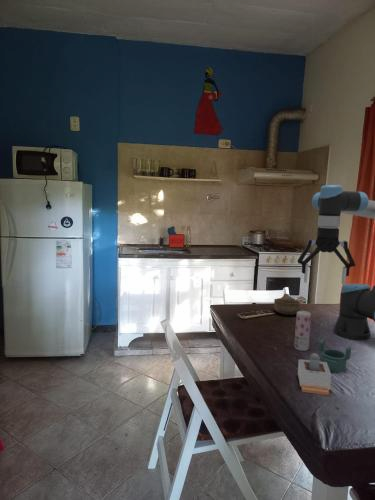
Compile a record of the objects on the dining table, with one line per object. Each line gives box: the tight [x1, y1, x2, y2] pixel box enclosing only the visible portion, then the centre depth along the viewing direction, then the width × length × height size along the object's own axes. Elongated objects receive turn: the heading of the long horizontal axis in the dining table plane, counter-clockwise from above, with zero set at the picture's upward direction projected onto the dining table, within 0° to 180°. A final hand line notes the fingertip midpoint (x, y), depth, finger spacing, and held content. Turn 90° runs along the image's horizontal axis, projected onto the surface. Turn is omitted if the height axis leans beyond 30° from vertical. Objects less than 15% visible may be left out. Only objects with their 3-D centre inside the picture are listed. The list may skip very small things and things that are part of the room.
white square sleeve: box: [297, 358, 332, 391], centre depth 115 cm, size 9×9×5 cm
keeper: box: [300, 352, 330, 396], centre depth 115 cm, size 8×12×10 cm, turn 167°
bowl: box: [273, 293, 301, 316], centre depth 190 cm, size 18×14×10 cm
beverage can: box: [293, 310, 312, 352], centre depth 143 cm, size 6×6×15 cm
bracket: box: [317, 339, 352, 373], centre depth 127 cm, size 9×9×9 cm
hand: (324, 283), depth 134 cm, fingers open, 13 cm apart
